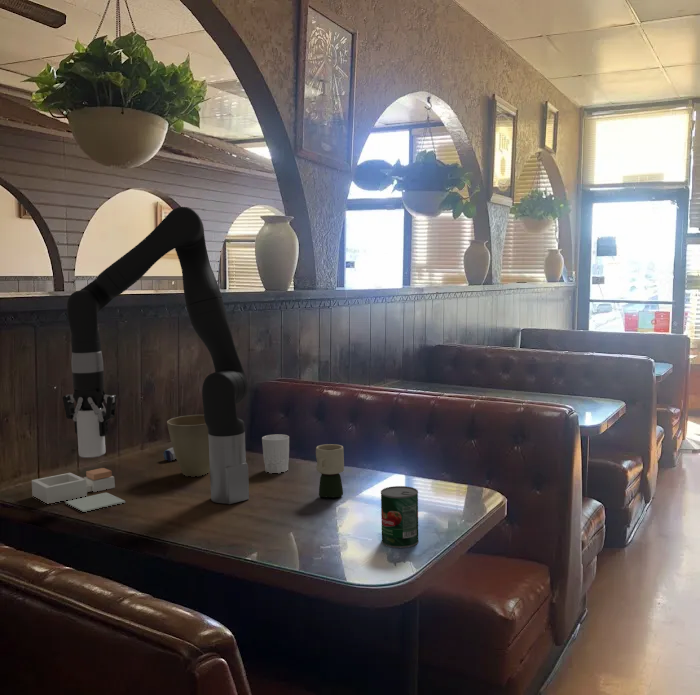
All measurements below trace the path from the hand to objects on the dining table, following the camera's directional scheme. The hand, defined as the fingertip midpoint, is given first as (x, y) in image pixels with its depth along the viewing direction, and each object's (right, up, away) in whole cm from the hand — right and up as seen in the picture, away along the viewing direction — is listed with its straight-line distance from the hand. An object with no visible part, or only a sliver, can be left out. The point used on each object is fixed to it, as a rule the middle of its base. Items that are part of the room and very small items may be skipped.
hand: (91, 435), depth 191 cm
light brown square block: (-3, -16, +16) cm, 23 cm away
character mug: (+61, -16, +3) cm, 63 cm away
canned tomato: (+76, -19, -31) cm, 84 cm away
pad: (0, -18, +2) cm, 18 cm away
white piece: (-8, -17, +12) cm, 22 cm away
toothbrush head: (+16, -12, +54) cm, 57 cm away
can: (0, -5, +1) cm, 5 cm away
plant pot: (+21, -15, +28) cm, 38 cm away
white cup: (+44, -14, +29) cm, 55 cm away
